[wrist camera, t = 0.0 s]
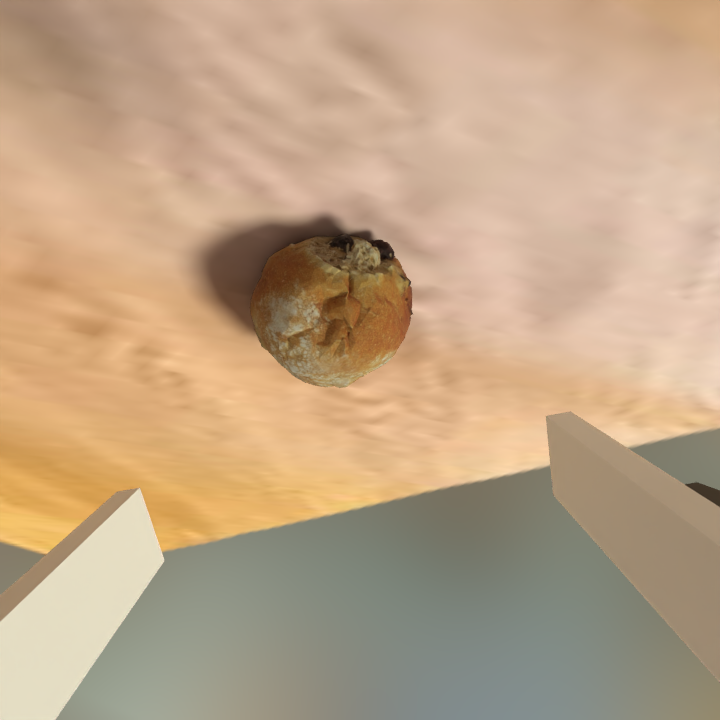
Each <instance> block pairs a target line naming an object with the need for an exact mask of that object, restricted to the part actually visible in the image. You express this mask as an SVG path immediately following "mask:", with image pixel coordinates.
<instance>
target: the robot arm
mask: <svg viewBox="0 0 720 720" xmlns="http://www.w3.org/2000/svg"><path fill="white" fill-rule="evenodd" d="M546 423H547V434H548V444H549V455H550V465H551V476H552V487H553V495H554V496H555V497H556V499H557V500H558V501H559V502H560V503H561V504H562V505H563V506H564V508H565V509H566V510H567V511H568V512H569V513H570V514H571V516H572V517H573V518H574V519H575V520H576V521H577V522H578V523H579V524H580V526H581V527H582V528H583V529H584V530H585V531H586V532H587V533H588V535H589V536H590V537H591V538H592V539H593V540H594V541H595V542H596V544H597V545H598V546H599V547H600V548H601V549H602V550H603V552H604V553H605V554H606V555H607V556H608V557H609V558H610V559H611V561H612V562H613V563H614V564H615V565H616V566H617V567H618V568H619V570H620V571H621V572H622V573H623V574H624V575H625V576H626V577H627V579H628V580H629V581H630V582H631V583H632V584H633V585H634V586H635V588H636V589H637V590H638V591H639V592H640V593H641V594H642V596H643V597H644V598H645V599H646V600H647V601H648V602H649V603H650V605H651V606H652V607H653V608H654V609H655V610H656V611H657V612H658V614H659V615H660V616H661V617H662V618H663V619H664V620H665V621H666V623H667V624H668V625H669V626H670V627H671V628H672V629H673V630H674V632H675V633H676V634H677V635H678V636H679V637H680V638H681V639H682V641H683V642H684V643H685V644H686V645H687V646H688V647H689V648H690V650H691V651H692V652H693V653H694V654H695V655H696V656H697V657H698V659H699V660H700V661H701V662H702V663H703V664H704V665H705V667H706V668H707V669H708V670H709V671H710V672H711V673H712V674H713V675H714V677H716V679H717V680H718V681H719V682H720V491H719V490H717V489H714V488H711V487H708V486H706V485H703V484H700V483H691V484H685V485H684V484H683V483H681V482H680V481H678V480H677V479H674V478H673V477H672V476H670V475H669V474H667V473H665V472H664V471H662V470H661V469H659V468H658V467H656V466H655V465H653V464H651V463H650V462H648V461H647V460H645V459H644V458H642V457H641V456H639V455H637V454H635V453H634V452H633V451H631V450H630V449H628V448H627V447H625V446H623V445H622V444H620V443H619V442H617V441H616V440H614V439H612V438H611V437H609V436H608V435H606V434H605V433H603V432H602V431H600V430H598V429H597V428H595V427H594V426H592V425H591V424H589V423H587V422H586V421H584V420H583V419H581V418H580V417H578V416H577V415H575V414H573V413H572V412H566V413H560V414H555V415H549V416H546ZM163 562H164V558H163V555H162V552H161V549H160V546H159V543H158V540H157V537H156V534H155V531H154V528H153V525H152V522H151V519H150V516H149V513H148V511H147V508H146V505H145V502H144V499H143V496H142V493H141V490H140V488H136V489H130V490H124V491H119V492H116V493H115V494H114V495H113V496H112V497H111V498H109V499H108V500H107V501H106V502H105V503H104V504H103V505H102V506H100V507H99V508H98V509H97V510H96V511H95V512H94V513H93V514H91V515H90V516H89V517H88V518H87V519H86V520H85V521H84V522H82V523H81V524H80V525H79V526H78V527H77V528H76V529H75V530H73V531H72V532H71V533H70V534H69V535H68V536H67V537H66V538H64V539H63V540H62V541H61V542H60V543H59V544H58V545H57V546H55V547H54V548H53V549H52V550H51V551H50V552H49V553H48V554H46V555H45V556H44V557H43V558H42V559H41V560H40V561H39V562H37V563H36V564H35V565H34V566H33V567H32V568H31V569H30V570H28V571H27V572H26V573H25V574H24V575H23V576H22V577H21V578H19V579H18V580H17V581H16V582H15V583H14V584H13V585H11V586H10V587H9V588H8V589H7V590H6V591H5V592H4V593H2V594H1V595H0V720H55V719H56V718H57V716H58V715H59V713H60V712H61V710H62V709H63V707H64V706H65V705H66V703H67V702H68V700H69V699H70V697H71V696H72V694H73V693H74V692H75V690H76V689H77V687H78V686H79V684H80V683H81V681H82V680H83V678H84V677H85V676H86V674H87V673H88V671H89V670H90V668H91V667H92V665H93V664H94V662H95V661H96V660H97V658H98V657H99V655H100V654H101V652H102V651H103V649H104V648H105V646H106V645H107V643H108V642H109V641H110V639H111V638H112V636H113V635H114V633H115V632H116V630H117V629H118V628H119V626H120V625H121V623H122V622H123V620H124V619H125V617H126V616H127V614H128V613H129V612H130V610H131V609H132V607H133V606H134V604H135V603H136V601H137V600H138V598H139V597H140V596H141V594H142V593H143V591H144V590H145V588H146V587H147V585H148V584H149V582H150V581H151V579H152V578H153V577H154V575H155V574H156V572H157V571H158V569H159V568H160V566H161V565H162V563H163Z"/></svg>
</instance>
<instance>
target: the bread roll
mask: <svg viewBox="0 0 720 720" xmlns="http://www.w3.org/2000/svg"><path fill="white" fill-rule="evenodd" d="M410 284H411V281H410V280H409V279H408V278H407V277H406V274H405V273H404V271H403V269H402V266H401V264H400V262H399V261H398V259H396V258H395V256H394V251H393V249H392V248H391V246H390V245H389V244H388V243H387V242H384V241H383V240H375V241H373V240H372V241H371V242H368V241H367V240H366V239H363V238H360V237H351V236H350V235H348V234H344V235H340V236H337V237H325V236H322V237H317V236H316V237H313V238H310V239H307V240H304V241H302V242H300V243H297V244H290V245H289V246H288V247H285V248H283V249H282V250H280V251H278V252H276V253H274V254H273V255H272V256H270V257H269V258H268V261H267V263H266V265H265V267H264V269H263V270H262V276H261V279H260V280H259V282H258V284H257V286H256V288H255V290H254V292H253V295H252V298H251V303H250V312H251V316H252V320H253V323H254V326H255V330H256V334H257V336H258V338H259V341H260V343H261V346H262V347H263V348H264V349H266V350H268V351H269V353H270V354H271V355H272V356H273V357H274V358H275V359H276V360H277V361H278V363H280V364H281V365H282V366H283V367H284V368H286V369H287V370H288V371H289V372H290V373H291V374H292V375H293V376H295V377H296V378H298V379H300V380H302V381H304V382H305V383H309V384H312V385H316V386H320V387H332V386H336V387H339V388H342V387H347V386H348V385H350V384H352V383H353V382H355V381H356V380H357V379H359V378H360V377H363V376H364V375H366V374H368V373H370V372H372V371H373V370H375V369H377V368H379V367H381V366H382V365H384V364H385V363H387V362H388V361H389V360H390V359H391V358H392V357H393V356H394V355H395V353H396V351H397V349H398V348H399V346H400V344H401V343H402V341H403V340H404V338H405V335H406V332H407V330H408V327H409V325H410V319H411V317H410V316H411V315H412V314H413V313H412V310H411V308H412V289H411V287H410Z"/></svg>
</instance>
